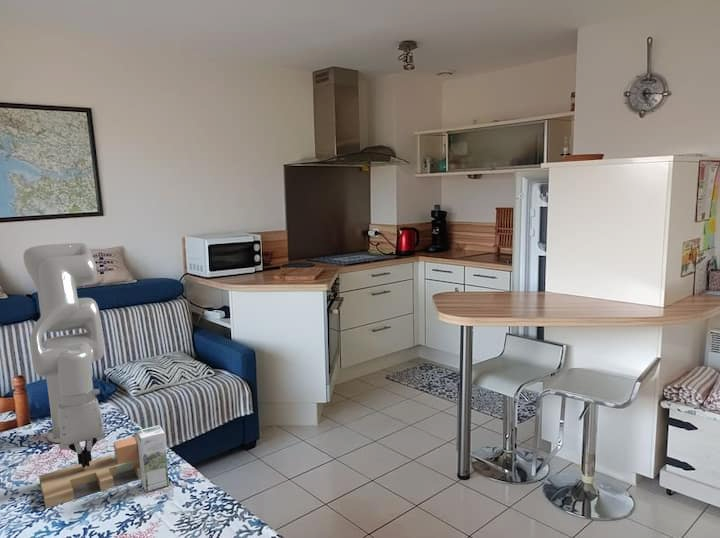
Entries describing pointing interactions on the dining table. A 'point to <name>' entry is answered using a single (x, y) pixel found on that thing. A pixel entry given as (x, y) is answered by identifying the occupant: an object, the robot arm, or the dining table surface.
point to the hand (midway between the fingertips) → (85, 464)
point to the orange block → (125, 450)
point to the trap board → (87, 479)
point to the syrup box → (152, 458)
